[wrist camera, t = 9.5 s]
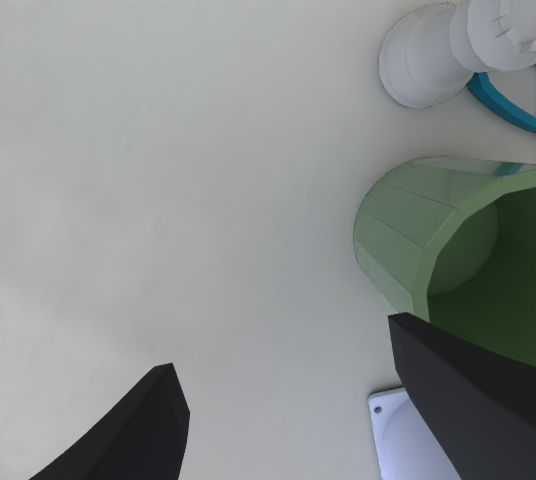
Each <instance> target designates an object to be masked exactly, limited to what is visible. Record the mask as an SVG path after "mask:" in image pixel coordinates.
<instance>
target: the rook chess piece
mask: <svg viewBox="0 0 536 480" xmlns="http://www.w3.org/2000/svg"><path fill="white" fill-rule="evenodd" d="M534 64H536V0H462V1H461V2H460V4H459V5H458V6H455V5H451V4H449V3H441V4H431V5H424V6H422V7H420V8H419V9H417V10H415V11H413V12H412V13H410V14H408V15H407V16H405V17H403V18H402V19H400V20H398V22H397V23H396V24H395V25H394V27H393V28H392V29H391V30H390V31H389V33H388V34H387V35H386V37H385V40H384V43H383V46H382V48H381V51H380V54H379V75H380V77H381V80H382V82H383V85H384V87H385V90H386V92H387V93H388V94H390V95H391V96H392V97H393V98H394V99H395V100H396V101H397V102H398V103H400V104H402V105H405V106H408V107H411V108H424V107H432V106H434V105H435V104H440V103H442V102H443V101H445V100H447V99H449V98H451V97H453V96H455V95H456V94H457V93H459V92H460V90H461V89H462V88H463V87H464V86H465V85H466V84H467V83H468V82H469V80H470V79H471V78H472V76H473V74H474V72H478V73H480V72H490V71H494V70H496V69H498V70H501V71H504V72H507V71H517V70H524V69H526V68H528V67H530V66H532V65H534Z"/></svg>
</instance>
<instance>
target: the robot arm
mask: <svg viewBox="0 0 536 480" xmlns="http://www.w3.org/2000/svg"><path fill="white" fill-rule="evenodd" d="M388 321H389V328H390V335H391V342H392V348H393V355H394V362H395V369H396V371H397V373H398V375H399V377H400V380H401V382H402V384H403V386H404V387H403V388H398V389H394V390H389V391H384V392H379V393H375V394H372V395H371V396H369V398H368V405H369V410H370V416H371V422H372V427H373V433H374V439H375V444H376V450H377V455H378V461H379V467H380V472H381V478H382V480H536V366H532V365H529V364H526V363H523V362H520V361H517V360H514V359H511V358H508V357H506V356H503V355H500V354H497V353H495V352H492V351H490V350H487V349H485V348H483V347H480V346H478V345H475V344H473V343H471V342H468V341H466V340H464V339H462V338H459V337H457V336H455V335H453V334H451V333H449V332H447V331H445V330H443V329H441V328H439V327H437V326H435V325H433V324H431V323H429V322H427V321H425V320H423V319H421V318H419V317H417V316H415V315H413V314H410V313H408V312H403V313H398V314H394V315H389V316H388ZM376 407H379V408H377V409H375V408H376ZM189 418H190V411H189V408H188V406H187V403H186V400H185V397H184V394H183V391H182V388H181V386H180V383H179V380H178V377H177V374H176V371H175V369H174V366H173V363H168V364H164V365H159V366H155V367H154V368H152V369H151V370H150V371H149V372H148V373H147V374H146V375H145V376H144V377H143V378H142V379H141V380H140V381H139V382H138V383H137V384H136V385H135V386H134V387H133V388H132V389H131V390H130V391H129V392H128V393H127V394H126V395H125V396H124V397H123V398H122V399H121V400H120V401H119V402H118V403H117V404H116V405H115V406H114V407H113V408H112V409H111V410H110V411H109V412H108V413H107V414H106V415H105V416H104V417H103V418H102V419H100V420H99V421H98V422H97V423H96V424H95V425H94V426H93V427H92V428H91V429H90V430H89V431H88V432H87V433H86V434H85V435H83V436H82V437H81V438H80V439H79V440H78V441H77V442H76V443H74V444H73V445H72V446H71V447H70V448H69V449H67V450H66V451H65V452H64V453H63V454H61V455H60V456H59V457H58V458H56V459H55V460H54V461H53V462H51V463H50V464H49V465H48V466H46V467H45V468H44V469H43V470H41V471H40V472H39V473H37V474H36V475H34V476H33V477H32V478H30V479H29V480H178V478H179V474H180V470H181V465H182V461H183V457H184V453H185V448H186V444H187V436H188V428H189Z"/></svg>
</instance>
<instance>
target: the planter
mask: <svg viewBox="0 0 536 480" xmlns="http://www.w3.org/2000/svg"><path fill="white" fill-rule="evenodd" d="M353 241H354V250H355V254H356V258H357V260H358V263H359V265H360V267H361V269H362V270H363V272H364V274H365V275H366V276H367V277H368V279H369V280H370V282H371V283H372V285H373V286H374V287H375V289H376V290H377V291H378V293H379V294H380V295H381V296H382V298H383V299H384V300H385V301H386V303H387V304H388V305H389V306H390V308H391V309H392V310H393V311H394V313H395V314H398V313H403V312H408V313H410V314H413V315H415V316H417V317H419V318H421V319H423V320H425V321H427V322H429V323H431V324H433V325H435V326H437V327H439V328H441V329H443V330H445V331H447V332H449V333H451V334H453V335H455V336H457V337H459V338H462V339H464V340H466V341H468V342H471V343H473V344H475V345H478V346H480V347H483V348H485V349H487V350H490V351H492V352H495V353H497V354H500V355H503V356H506V357H508V358H511V359H514V360H517V361H520V362H523V363H526V364H529V365H532V366H536V164H527V163H516V162H504V161H493V160H481V159H469V158H458V157H446V156H439V157H427V158H421V159H417V160H413V161H410V162H407V163H405V164H403V165H400V166H398V167H397V168H395V169H393V170H392V171H390V172H389V173H387V174H386V175H385V176H384V177H382V178H381V179H380V180H379V181H378V182H377V183H376V184H375V185H374V186H373V187H372V189H371V190H370V191H369V193H368V194H367V196H366V197H365V199H364V200H363V202H362V204H361V206H360V209H359V211H358V214H357V217H356V220H355V225H354V235H353Z"/></svg>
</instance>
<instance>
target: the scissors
mask: <svg viewBox="0 0 536 480" xmlns="http://www.w3.org/2000/svg"><path fill="white" fill-rule="evenodd" d="M468 84H469V87H470V90H471V92H472V93H473V94H474V95H475V96H476V97H477V98H478V99H479V100H480V101H481V102H482V103H483V104H485V105H486V106H487V107H488V108H490V109H491V110H492V111H493V112H495V113H496V114H498V115H499V116H501V117H503V118H504V119H506V120H507V121H509V122H511V123H512V124H514V125H516V126H518V127H521V128H523V129H525V130H528V131H532V132H535V133H536V118H535V117H533V116H531V115H529V114H528V113H526V112H525V111H523V110H522V109H520V108H519V107H517V106H516V105H514V104H513V103H511V102H510V101H509V100H508V99H507V98H505V97H504V96H503V95H502V94H500V93H499V92H498V91H497V90H496V89H495V88H494V86H493V85H492V84H491V83H490V82H489V78H488V75H487V72H480V73H478V72H474V74H473V76H472V78H471V79H470V80H469V82H468Z"/></svg>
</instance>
